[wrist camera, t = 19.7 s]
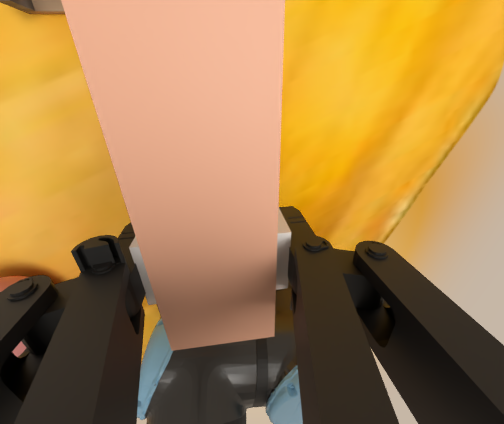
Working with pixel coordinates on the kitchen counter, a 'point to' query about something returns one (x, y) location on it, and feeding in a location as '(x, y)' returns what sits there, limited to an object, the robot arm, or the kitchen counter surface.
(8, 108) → the kitchen counter surface
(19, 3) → the cradle
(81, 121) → the kitchen counter surface
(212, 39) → the bar
